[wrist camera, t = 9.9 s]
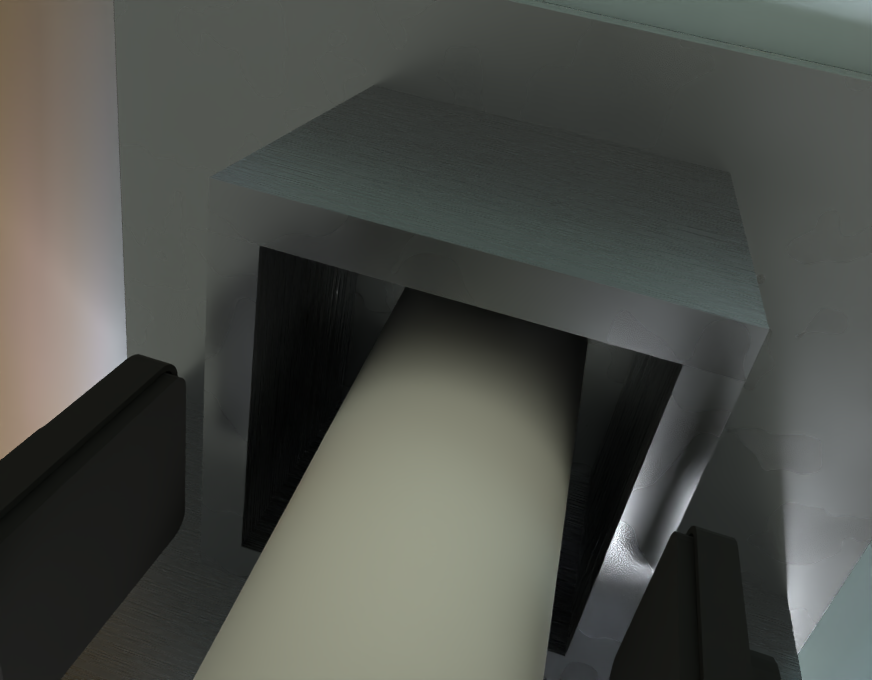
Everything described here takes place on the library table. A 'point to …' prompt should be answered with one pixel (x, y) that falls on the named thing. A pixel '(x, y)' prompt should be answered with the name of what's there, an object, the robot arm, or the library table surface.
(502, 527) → the off-white rounded cylinder
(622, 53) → the cup bracket
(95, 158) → the library table surface
